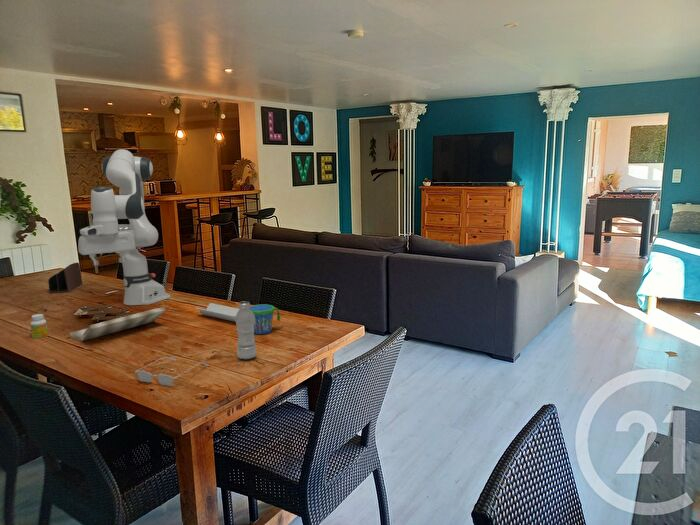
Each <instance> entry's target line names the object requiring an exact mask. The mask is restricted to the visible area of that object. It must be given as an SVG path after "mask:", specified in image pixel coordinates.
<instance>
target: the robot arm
mask: <svg viewBox="0 0 700 525" xmlns="http://www.w3.org/2000/svg"><path fill="white" fill-rule="evenodd" d="M101 170H102V174H103V175H104V177H106V178H107V180H108V182H110V184H112V186H114V187H118V188H119V189H118V190H119V192H118V193H119V194H115V191H114V190H113V188H112V187H109V186H98V187H94V188H93V189H91V192H90V208H91V209H90V210H91V213H92V225H88V226H86V227H83V228H81V229H79V234H80V236H79V238H78V241H77V242H78V246H77V247H78V250H77V251H78V253H79V254H80V255H82V256H87V255H88V256H89V258H90V259H91V261H92V262H93V266H94V267H95V266H100V262H99V260H97V259H95V257H96V255H97V254H99V255H100V254H106V253H107V254H108V253H118V255H119V258H118V262H119V263H121V264H122V270H123V276H122V278H123V280H122V281H123V286H124V296H123V303H122V304H123V305H127V306H140V305H141V306H142V305H143V306H144V305H147V306H148V305H152V304H155V303H158V302H162V301H164V300H168V299H171V297H172V296H171V294H170V293H167V291H166V288H165V287H164V285H163V284H161V283H159V282H157V281H156V280H154V279H153V278H155V277H156V273H153V272H152V273H150V272H149V268H148V261H147V258H146V256H145V255H144V254H142V253H140V252H139V250H138V249H137V247H139V248H143V247H144V248H145V247H146V248H147V247H150V246H151V247H152V246H154V245H155V244H156V243H157V242H158V240H159V232H158V229H157V228H156V227H155V226H154V225H152V223H151V222H150V221H149V219H148V217H147V215H146V211H145V209H146V207H145V192H144V183H146V182H147V180H150V179H151V177H152V175H153V172H154V167H153V163H152V160H151V159H150V158H149V157H144V156H136V155H135V156H134V154H133V153H132V152H131V151H129V150H127V149H124V148H123V149H122V148H121V149H117V150H114V151H113V153H112V154H111V155H108V156H105V157H104V158H103V159H102V164H101ZM127 219H128V221H129V224H127V223H126V224H125V223H124V224H123V223H121V224H119V222H118V220H127Z"/></svg>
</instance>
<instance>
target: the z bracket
mask: <svg viewBox="0 0 700 525" xmlns="http://www.w3.org/2000/svg"><path fill="white" fill-rule="evenodd" d="M194 309H196V310H197V311H198V312H200V314H202V315H204V316H208V317H212V318H216V319H221V320H225V321H231V322H235V323H236V320H235V318H236V315H237V313H238V311H239V308H238V307H231V306H228V305H223V304H222V305H221V304H219V303H213V302H210V303H209V304H208V306H207V308H206V309H205V308H200V307H195V308H194Z"/></svg>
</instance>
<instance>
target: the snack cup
mask: <svg viewBox="0 0 700 525" xmlns="http://www.w3.org/2000/svg"><path fill="white" fill-rule="evenodd" d="M250 310H251V311H252V312H253V314H254V316H255V323H254V334H256V335H265V334H269V333H271V331H272V328H273V319H274V312H275V310H276V311H277V318H276V320H277V322H280V321H281V313H280V310H279V308H277V307H275V306H274V305H272V304H265V303H264V304H263V303H262V304H254V305H250Z"/></svg>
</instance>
